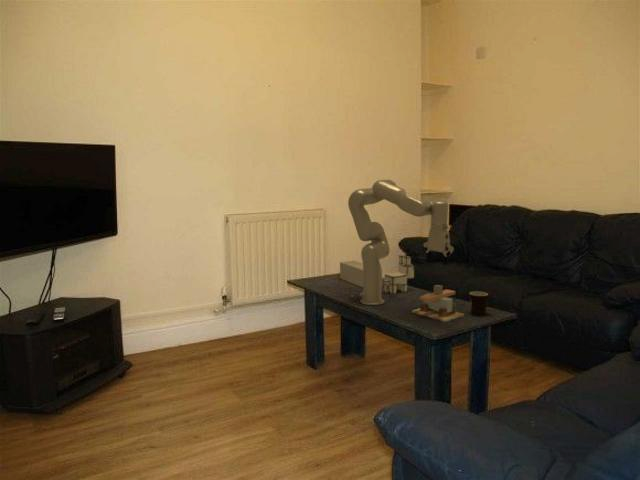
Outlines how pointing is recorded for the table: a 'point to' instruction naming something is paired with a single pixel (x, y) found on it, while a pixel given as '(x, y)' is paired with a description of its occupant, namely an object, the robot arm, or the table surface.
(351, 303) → the table surface
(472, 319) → the table surface
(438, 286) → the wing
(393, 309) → the table surface
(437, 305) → the pale grey bar
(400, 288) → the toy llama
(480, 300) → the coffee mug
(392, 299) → the table surface
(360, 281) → the grey rectangular block
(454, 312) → the jig
